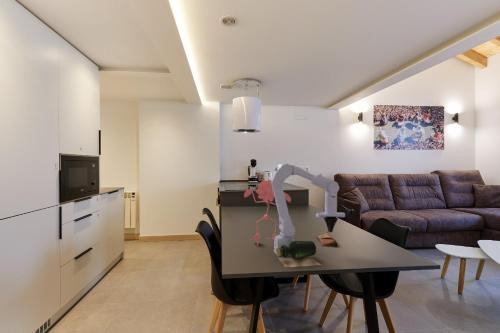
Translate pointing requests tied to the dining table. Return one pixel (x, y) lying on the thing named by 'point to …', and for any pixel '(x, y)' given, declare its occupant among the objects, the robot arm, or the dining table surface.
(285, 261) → the placemat
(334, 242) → the sunglasses case
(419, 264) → the dining table surface
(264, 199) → the figurine
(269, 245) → the dining table surface
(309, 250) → the potion bottle
